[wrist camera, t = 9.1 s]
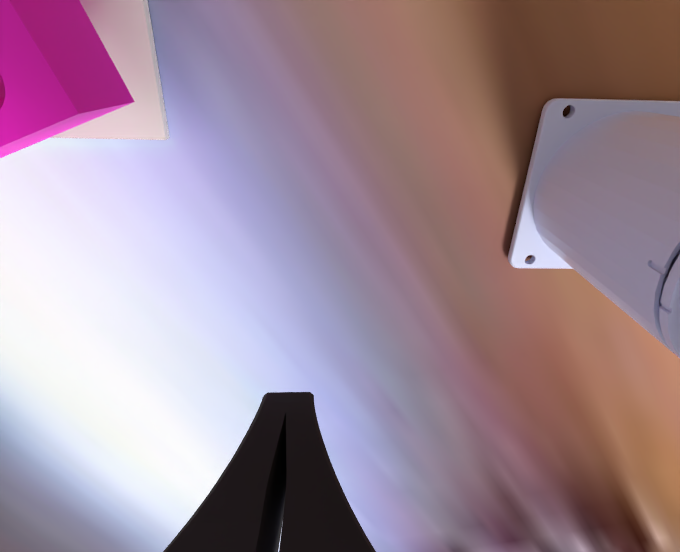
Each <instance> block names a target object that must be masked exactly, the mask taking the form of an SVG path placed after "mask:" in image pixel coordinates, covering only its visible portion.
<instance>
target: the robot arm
mask: <svg viewBox="0 0 680 552" xmlns="http://www.w3.org/2000/svg"><path fill="white" fill-rule="evenodd" d="M568 105H569V106H570V112H569V114H568V115H567V116H566V117H564V116H563V110H564V108H565V107H566V106H568ZM529 255H532V257H531V259H530V260H528V261H525V259H526V257H527V256H529ZM508 261H509V263H510V264H511V265H512V266H513V267H515V268H569V269H574V270H576V271H577V272H578V273H579V274H580V275H581V276H583V277H584V278H585V279H586V280H587V281H589V282H590V283H591V284H592V285H593V286H595V287H596V288H597V289H598V290H599V291H600V292H602V293H603V294H604V295H605V296H606V297H608V298H609V299H610V300H611V301H612V302H613V303H615V304H616V305H617V306H618V307H619V308H621V309H622V310H623V311H624V312H625V313H627V314H628V315H629V316H630V317H631V318H632V319H634V320H635V321H636V322H637V323H638V324H640V325H641V326H642V327H643V328H644V329H646V330H647V331H648V332H649V333H650V334H651V335H653V336H654V337H655V338H656V339H657V340H659V341H660V342H661V343H662V344H663V345H665V346H666V347H667V348H668V349H669V350H670V351H672V352H673V353H674V354H676V355H677V356H678V357H679V358H680V101H658V100H615V99H573V98H554V99H551V100H549V101H548V102H547V103H546V104H545V105H544V107H543V110H542V113H541V118H540V122H539V126H538V130H537V135H536V139H535V143H534V148H533V152H532V156H531V160H530V165H529V169H528V173H527V178H526V182H525V186H524V190H523V195H522V199H521V203H520V208H519V212H518V216H517V220H516V225H515V229H514V233H513V238H512V242H511V246H510V250H509V255H508ZM282 521H283V524H282ZM281 528H282V533H281ZM280 535H281V542H280V550H279V552H376V551H375V550H374V548H373V546H372V545H371V543H370V541H369V540H368V538H367V536H366V535H365V533H364V531H363V529H362V527H361V526H360V524H359V522H358V520H357V518H356V516H355V514H354V512H353V511H352V509H351V507H350V505H349V503H348V501H347V499H346V496H345V494H344V492H343V490H342V488H341V486H340V483H339V481H338V479H337V476H336V474H335V472H334V469H333V467H332V464H331V462H330V459H329V456H328V453H327V451H326V448H325V445H324V442H323V439H322V436H321V433H320V429H319V425H318V421H317V417H316V413H315V407H314V395H313V394H312V393H310V392H281V393H267V394H265V395H264V397H263V399H262V402H261V404H260V407H259V409H258V411H257V413H256V416H255V418H254V420H253V422H252V424H251V426H250V428H249V430H248V431H247V433H246V435H245V437H244V439H243V440H242V442H241V444H240V446H239V447H238V449H237V451H236V453H235V454H234V456H233V458H232V459H231V461H230V462H229V464H228V466H227V467H226V469H225V470H224V472H223V473H222V475H221V477H220V478H219V480H218V481H217V483H216V484H215V486H214V487H213V489H212V490H211V491H210V493H209V494H208V496H207V497H206V498H205V500H204V501H203V503H202V504H201V505H200V507H199V508H198V509H197V511H196V512H195V513H194V515H193V516H192V517H191V518H190V520H189V521H188V522H187V523H186V525H185V526H184V527H183V528H182V530H181V531H180V532H179V533H178V535H177V536H176V537H175V538H174V539H173V541H172V542H171V543H170V544H169V545H168V547H167V548H166V549H165V550H164V551H163V552H278V548H279V541H280Z"/></svg>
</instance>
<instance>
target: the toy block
mask: <svg viewBox="0 0 680 552" xmlns="http://www.w3.org/2000/svg"><path fill="white" fill-rule="evenodd" d="M133 102H135V101H134V99H133V98H132V96H131V94H130V92H129V90H128V89H127V87H126V85H125V83H124V81H123V79H122V78H121V76H120V74H119V72H118V70H117V68H116V67H115V65H114V63H113V61H112V59H111V57H110V56H109V54H108V52H107V50H106V48H105V46H104V45H103V43H102V41H101V39H100V37H99V35H98V34H97V32H96V30H95V28H94V26H93V24H92V23H91V21H90V19H89V17H88V15H87V13H86V12H85V10H84V8H83V6H82V4H81V3H80V1H79V0H0V158H2V157H4V156H6V155H9V154H11V153H14V152H16V151H18V150H21V149H23V148H25V147H28V146H30V145H33V144H35V143H37V142H40V141H42V140H45V139H47V138H49V137H52V136H54V135H57V134H59V133H61V132H64V131H66V130H69V129H71V128H73V127H76V126H78V125H81V124H83V123H85V122H88V121H90V120H93V119H95V118H97V117H100V116H102V115H105V114H107V113H109V112H112V111H114V110H117V109H119V108H121V107H124V106H126V105H129V104H131V103H133Z"/></svg>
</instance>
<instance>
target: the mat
mask: <svg viewBox="0 0 680 552" xmlns="http://www.w3.org/2000/svg"><path fill="white" fill-rule="evenodd" d="M79 1H80V3H81V4H82V6H83V8H84V10H85V12H86V13H87V15H88V17H89V19H90V21H91V23H92V24H93V26H94V28H95V30H96V32H97V34H98V35H99V37H100V39H101V41H102V43H103V45H104V46H105V48H106V50H107V52H108V54H109V56H110V57H111V59H112V61H113V63H114V65H115V67H116V68H117V70H118V72H119V74H120V76H121V78H122V79H123V81H124V83H125V85H126V87H127V89H128V90H129V92H130V94H131V96H132V98H133V99H134V101H135V102H133V103H131V104H129V105H126V106H124V107H121V108H119V109H117V110H114V111H112V112H109V113H107V114H105V115H102V116H100V117H97V118H95V119H93V120H90V121H88V122H85V123H83V124H81V125H78V126H76V127H73V128H71V129H69V130H66V131H64V132H61V133H59V134H57V135H54V136H52V137H49V138H96V139H148V140H167V139H169V138H170V137H169V130H168V124H167V118H166V112H165V106H164V99H163V93H162V87H161V81H160V75H159V68H158V62H157V56H156V50H155V44H154V37H153V31H152V25H151V19H150V13H149V6H148V0H79Z"/></svg>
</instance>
